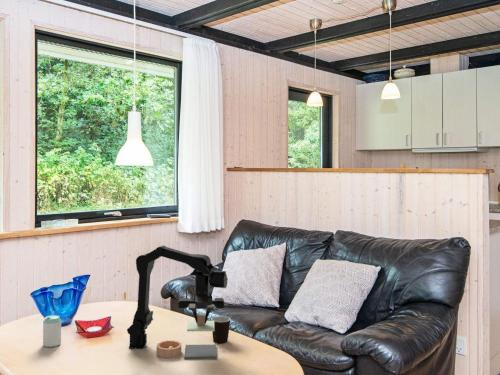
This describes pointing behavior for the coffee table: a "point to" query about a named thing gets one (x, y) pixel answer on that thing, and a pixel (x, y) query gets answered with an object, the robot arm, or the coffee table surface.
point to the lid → (201, 324)
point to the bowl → (169, 349)
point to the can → (52, 331)
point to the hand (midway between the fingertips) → (201, 323)
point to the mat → (200, 352)
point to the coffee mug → (221, 329)
